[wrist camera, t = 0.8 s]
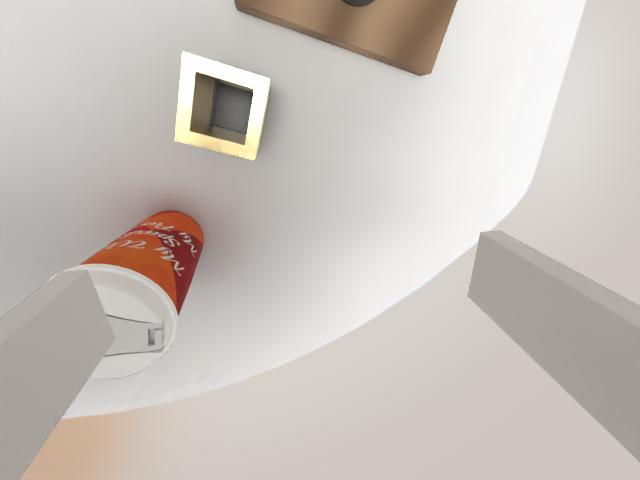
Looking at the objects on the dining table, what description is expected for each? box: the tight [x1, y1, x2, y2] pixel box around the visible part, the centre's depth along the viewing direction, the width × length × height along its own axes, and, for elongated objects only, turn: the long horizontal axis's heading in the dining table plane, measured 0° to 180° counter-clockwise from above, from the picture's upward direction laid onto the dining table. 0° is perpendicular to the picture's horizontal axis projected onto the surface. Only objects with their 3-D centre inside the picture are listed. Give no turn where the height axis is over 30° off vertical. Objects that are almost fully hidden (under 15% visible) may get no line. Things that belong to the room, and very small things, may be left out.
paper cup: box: [42, 211, 203, 379], centre depth 23 cm, size 8×8×14 cm
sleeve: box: [175, 51, 271, 161], centre depth 22 cm, size 5×5×8 cm
